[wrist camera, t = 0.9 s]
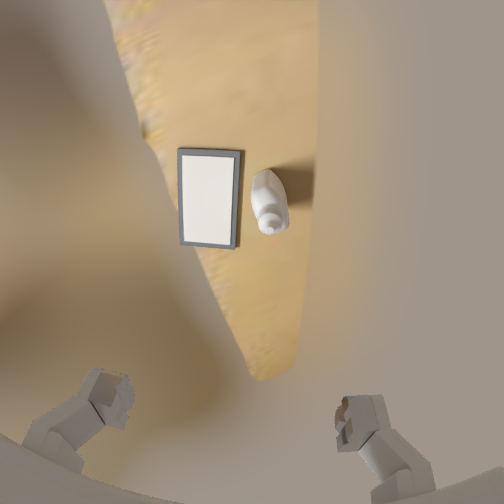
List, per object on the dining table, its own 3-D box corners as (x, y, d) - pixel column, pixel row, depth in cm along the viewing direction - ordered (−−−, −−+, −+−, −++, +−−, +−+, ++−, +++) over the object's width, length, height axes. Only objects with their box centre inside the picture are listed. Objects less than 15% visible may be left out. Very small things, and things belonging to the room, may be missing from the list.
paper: (182, 155, 36) (182, 155, 36) (234, 157, 36) (233, 157, 36) (184, 240, 43) (184, 241, 43) (230, 244, 43) (229, 245, 43)
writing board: (178, 148, 37) (177, 149, 36) (240, 150, 36) (240, 151, 36) (181, 242, 44) (180, 244, 43) (235, 247, 44) (234, 249, 43)
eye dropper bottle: (288, 169, 37) (295, 203, 27) (286, 209, 40) (290, 256, 30) (254, 167, 38) (247, 201, 27) (253, 207, 40) (246, 254, 30)
